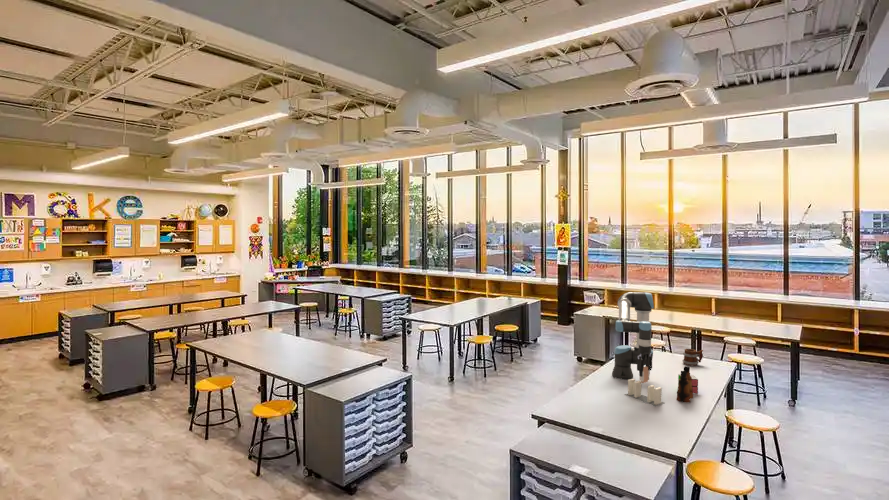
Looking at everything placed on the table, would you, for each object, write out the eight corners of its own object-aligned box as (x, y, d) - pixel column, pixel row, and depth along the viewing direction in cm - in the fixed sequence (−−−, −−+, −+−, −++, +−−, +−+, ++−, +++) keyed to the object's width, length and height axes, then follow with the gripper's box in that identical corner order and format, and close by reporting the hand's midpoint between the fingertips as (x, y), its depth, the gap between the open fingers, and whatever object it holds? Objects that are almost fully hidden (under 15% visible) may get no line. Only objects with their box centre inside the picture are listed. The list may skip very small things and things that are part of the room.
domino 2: (634, 396, 314) (634, 382, 314) (639, 395, 317) (639, 380, 316) (636, 397, 313) (636, 382, 313) (641, 396, 316) (641, 381, 315)
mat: (623, 395, 319) (623, 394, 319) (633, 392, 324) (633, 391, 324) (655, 406, 298) (655, 406, 298) (665, 403, 303) (665, 403, 303)
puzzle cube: (698, 393, 321) (698, 379, 320) (682, 392, 323) (682, 378, 322) (693, 388, 331) (693, 374, 330) (677, 387, 333) (678, 374, 332)
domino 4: (654, 403, 302) (654, 388, 301) (659, 402, 304) (659, 387, 304) (656, 404, 300) (656, 389, 300) (661, 403, 303) (661, 387, 302)
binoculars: (680, 393, 321) (681, 364, 320) (694, 396, 317) (694, 366, 316) (675, 401, 307) (675, 371, 306) (689, 404, 302) (689, 373, 301)
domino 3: (647, 401, 306) (647, 386, 305) (652, 400, 308) (652, 385, 308) (649, 402, 304) (649, 387, 304) (654, 400, 307) (654, 385, 306)
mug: (681, 360, 398) (685, 343, 396) (700, 365, 392) (704, 348, 390) (680, 364, 388) (684, 347, 386) (700, 369, 381) (704, 352, 379)
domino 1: (627, 394, 319) (628, 379, 318) (632, 393, 321) (632, 378, 321) (629, 395, 317) (630, 380, 317) (634, 393, 320) (634, 379, 319)
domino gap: (640, 382, 309) (641, 367, 309) (645, 381, 312) (646, 366, 312) (643, 383, 308) (643, 368, 308) (647, 381, 311) (648, 366, 310)
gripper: (640, 348, 301) (640, 384, 302) (658, 344, 310) (658, 379, 311) (631, 345, 308) (630, 381, 309) (648, 342, 317) (648, 376, 318)
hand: (644, 380), depth 310 cm, fingers closed on domino gap, 5 cm apart
